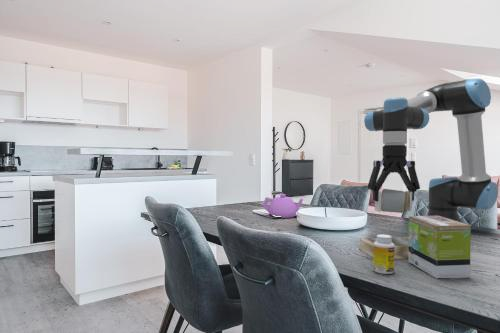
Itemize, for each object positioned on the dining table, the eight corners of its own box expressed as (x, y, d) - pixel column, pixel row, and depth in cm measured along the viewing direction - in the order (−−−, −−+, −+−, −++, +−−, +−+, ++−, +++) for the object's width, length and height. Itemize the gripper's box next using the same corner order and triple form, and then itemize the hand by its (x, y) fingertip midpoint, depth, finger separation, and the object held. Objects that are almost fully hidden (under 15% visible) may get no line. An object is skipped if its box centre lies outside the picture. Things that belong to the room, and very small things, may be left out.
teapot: (261, 218, 192) (261, 195, 191) (263, 213, 207) (264, 192, 207) (303, 219, 189) (303, 196, 189) (302, 214, 204) (303, 193, 204)
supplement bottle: (389, 276, 99) (390, 238, 99) (370, 271, 103) (370, 236, 102) (396, 271, 103) (397, 235, 103) (377, 267, 107) (378, 232, 107)
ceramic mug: (406, 214, 116) (407, 190, 116) (380, 212, 120) (380, 189, 120) (408, 210, 126) (409, 188, 126) (383, 209, 129) (384, 187, 129)
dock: (407, 248, 129) (407, 236, 129) (429, 257, 117) (429, 244, 117) (359, 250, 126) (360, 237, 126) (377, 259, 115) (377, 246, 114)
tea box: (406, 263, 112) (407, 215, 111) (438, 262, 112) (438, 214, 112) (435, 279, 97) (436, 224, 96) (471, 278, 97) (472, 223, 97)
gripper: (419, 145, 127) (417, 208, 127) (357, 144, 123) (356, 209, 124) (433, 144, 119) (431, 212, 120) (367, 143, 116) (366, 212, 117)
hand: (393, 210), depth 122 cm, fingers closed on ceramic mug, 10 cm apart
